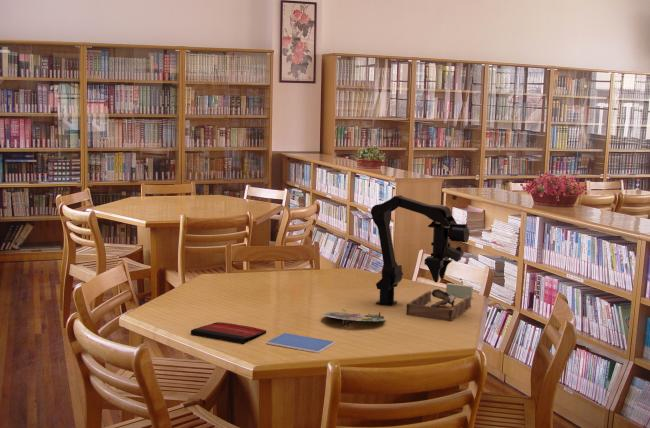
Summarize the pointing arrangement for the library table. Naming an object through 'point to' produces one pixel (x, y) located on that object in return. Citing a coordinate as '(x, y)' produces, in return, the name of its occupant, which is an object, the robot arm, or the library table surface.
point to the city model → (354, 317)
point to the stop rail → (459, 290)
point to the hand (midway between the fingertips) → (439, 280)
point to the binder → (228, 332)
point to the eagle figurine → (443, 296)
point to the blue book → (301, 343)
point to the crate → (434, 312)
